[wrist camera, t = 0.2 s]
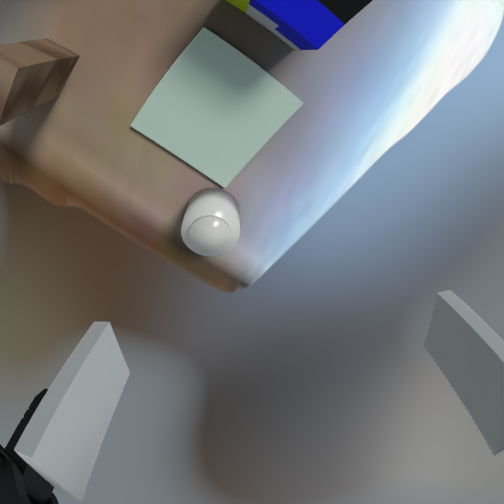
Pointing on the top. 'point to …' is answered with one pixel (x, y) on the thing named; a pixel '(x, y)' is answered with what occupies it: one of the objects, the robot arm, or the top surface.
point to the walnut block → (32, 75)
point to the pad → (215, 108)
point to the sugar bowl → (211, 222)
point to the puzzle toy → (302, 18)
